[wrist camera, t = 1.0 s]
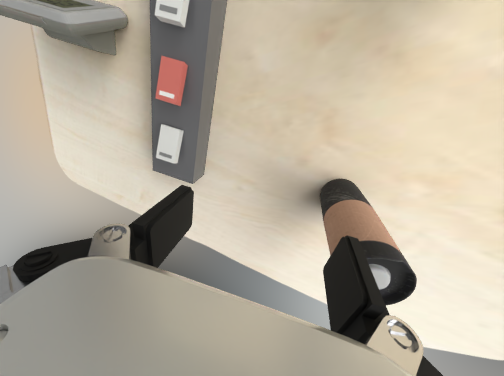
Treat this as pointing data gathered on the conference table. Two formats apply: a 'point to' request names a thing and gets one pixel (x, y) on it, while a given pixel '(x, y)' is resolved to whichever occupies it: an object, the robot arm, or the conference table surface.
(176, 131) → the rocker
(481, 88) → the conference table surface
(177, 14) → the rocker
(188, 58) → the power strip
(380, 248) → the travel mug
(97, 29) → the digital clock
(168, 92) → the rocker middle
